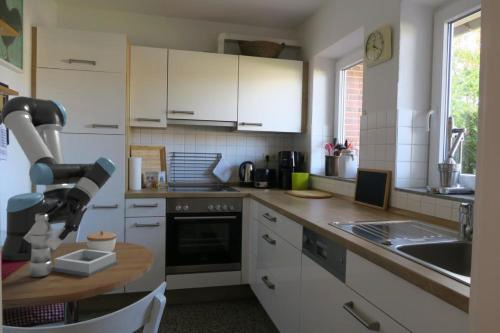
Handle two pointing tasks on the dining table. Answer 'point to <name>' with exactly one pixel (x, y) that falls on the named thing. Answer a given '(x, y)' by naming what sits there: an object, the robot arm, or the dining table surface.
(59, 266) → the light grey square tray
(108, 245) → the lidded jar
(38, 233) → the plastic bottle
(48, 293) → the dining table surface
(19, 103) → the robot arm
